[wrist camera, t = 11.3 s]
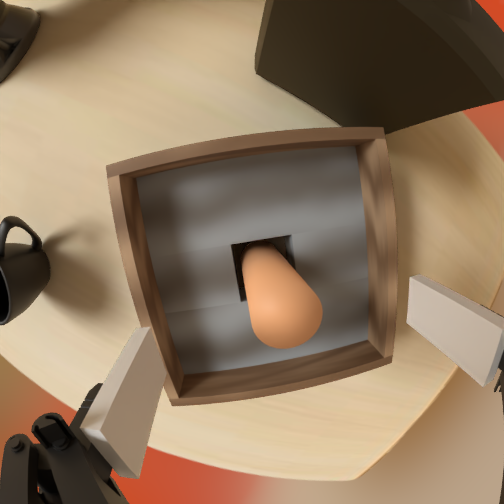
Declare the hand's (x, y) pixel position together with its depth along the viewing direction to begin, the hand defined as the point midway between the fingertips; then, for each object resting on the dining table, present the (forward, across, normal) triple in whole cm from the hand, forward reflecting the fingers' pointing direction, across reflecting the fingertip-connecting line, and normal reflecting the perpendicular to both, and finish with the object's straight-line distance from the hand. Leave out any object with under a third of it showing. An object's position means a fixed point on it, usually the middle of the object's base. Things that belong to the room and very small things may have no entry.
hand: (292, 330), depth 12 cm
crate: (+16, 0, -1) cm, 16 cm away
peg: (+16, 0, -1) cm, 16 cm away
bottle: (+17, +10, +18) cm, 26 cm away
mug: (+17, -27, +4) cm, 32 cm away
